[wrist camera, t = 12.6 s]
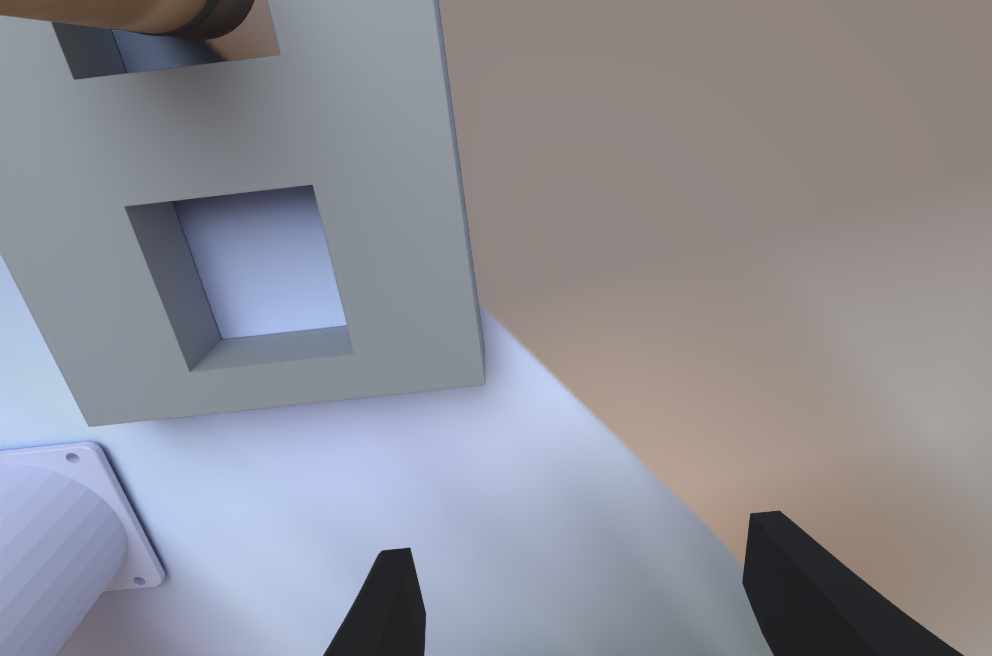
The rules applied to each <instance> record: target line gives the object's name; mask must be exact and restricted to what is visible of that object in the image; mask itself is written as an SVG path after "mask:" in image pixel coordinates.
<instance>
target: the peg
mask: <svg viewBox="0 0 992 656" xmlns="http://www.w3.org/2000/svg"><path fill="white" fill-rule="evenodd" d="M253 3H254V0H0V15H1V16H9V17H18V18H26V19H34V20H42V21H50V22H58V23H66V24H74V25H83V26H91V27H99V28H107V29H115V30H123V31H130V32H134V33H139V34H145V35H154V36H172V37H180V38H188V39H198V40H206V39H213V38H218V37H221V36H223V35H225V34H228V33H229V32H231V31H232V30H234V29H235V28H236V27H238V26H239V25H240V24H241V23H242V21H243V20H244V19H245V18H246V16H247V14H248V13H249V11H250V9H251V7H252V5H253Z"/></svg>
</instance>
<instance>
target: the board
mask: <svg viewBox="0 0 992 656" xmlns="http://www.w3.org/2000/svg"><path fill="white" fill-rule="evenodd" d="M267 1H268V5H269V10H270V14H271V18H272V22H273V26H274V30H275V34H276V38H277V42H278V46H279V51H280V55H275V56H266V57H258V58H250V59H242V60H233V61H225V62H217V63H209V64H200V65H192V66H184V67H176V68H168V69H159V70H151V71H143V72H135V73H126V70H125V68H124V65H123V62H122V59H121V56H120V54H119V51H118V48H117V45H116V43H115V40H114V37H113V34H112V31H111V29H107V28H99V27H91V26H83V25H74V24H66V23H58V22H50V21H42V20H34V19H26V18H18V17H9V16H1V15H0V254H1V256H2V258H3V260H4V262H5V264H6V265H7V267H8V269H9V271H10V273H11V275H12V277H13V279H14V281H15V283H16V285H17V287H18V289H19V291H20V293H21V295H22V297H23V299H24V301H25V303H26V305H27V307H28V309H29V311H30V313H31V315H32V316H33V318H34V320H35V322H36V324H37V326H38V328H39V330H40V332H41V334H42V336H43V338H44V340H45V342H46V344H47V346H48V348H49V350H50V352H51V354H52V356H53V358H54V360H55V362H56V364H57V365H58V367H59V369H60V371H61V373H62V375H63V377H64V379H65V381H66V383H67V385H68V387H69V389H70V391H71V393H72V395H73V397H74V399H75V401H76V403H77V405H78V407H79V409H80V411H81V413H82V415H83V416H84V418H85V420H86V422H87V424H88V426H89V427H93V426H102V425H112V424H121V423H130V422H140V421H149V420H158V419H168V418H177V417H187V416H196V415H205V414H215V413H224V412H233V411H243V410H252V409H261V408H271V407H280V406H289V405H299V404H308V403H318V402H327V401H336V400H346V399H355V398H364V397H374V396H383V395H392V394H402V393H411V392H421V391H430V390H439V389H449V388H458V387H467V386H477V385H485V350H484V342H483V335H482V327H481V319H480V312H479V304H478V297H477V290H476V282H475V274H474V267H473V259H472V251H471V244H470V236H469V229H468V221H467V213H466V206H465V198H464V191H463V183H462V176H461V168H460V161H459V153H458V145H457V138H456V130H455V122H454V115H453V107H452V100H451V92H450V85H449V77H448V69H447V62H446V54H445V47H444V39H443V32H442V24H441V17H440V9H439V1H438V0H267ZM305 185H313V189H314V193H315V197H316V201H317V205H318V209H319V213H320V217H321V221H322V225H323V229H324V233H325V237H326V241H327V246H328V250H329V254H330V258H331V262H332V266H333V270H334V274H335V278H336V282H337V286H338V290H339V294H340V298H341V302H342V306H343V311H344V315H345V319H346V323H347V326H340V327H331V328H322V329H312V330H303V331H294V332H285V333H276V334H267V335H258V336H249V337H240V338H231V339H221V336H220V334H219V331H218V328H217V325H216V322H215V320H214V317H213V314H212V311H211V308H210V306H209V303H208V300H207V297H206V294H205V292H204V289H203V286H202V283H201V280H200V278H199V275H198V272H197V269H196V266H195V264H194V261H193V258H192V255H191V252H190V250H189V247H188V244H187V241H186V238H185V236H184V233H183V230H182V227H181V224H180V222H179V219H178V216H177V213H176V210H175V208H174V205H173V202H172V201H176V200H184V199H193V198H202V197H210V196H219V195H228V194H236V193H245V192H253V191H262V190H271V189H279V188H288V187H297V186H305Z"/></svg>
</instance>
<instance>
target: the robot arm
mask: <svg viewBox="0 0 992 656" xmlns="http://www.w3.org/2000/svg"><path fill="white" fill-rule="evenodd" d="M74 454H76V455H77V456H76V455H74ZM164 578H165V572H164V570H163V568H162V566H161V564H160V562H159V560H158V558H157V557H156V555H155V553H154V551H153V549H152V547H151V545H150V543H149V541H148V539H147V537H146V535H145V533H144V531H143V529H142V527H141V525H140V523H139V521H138V519H137V517H136V515H135V513H134V511H133V509H132V507H131V505H130V503H129V501H128V499H127V498H126V496H125V494H124V492H123V490H122V488H121V486H120V484H119V482H118V480H117V478H116V476H115V474H114V472H113V470H112V468H111V466H110V464H109V462H108V460H107V458H106V456H105V454H104V452H103V450H102V449H101V448H100V446H98V445H97V444H95V443H92V442H78V443H68V444H59V445H49V446H40V447H31V448H21V449H12V450H2V451H0V656H57V654H58V653H59V652H60V650H61V649H62V647H63V646H64V645H65V643H66V642H67V641H68V639H69V638H70V637H71V635H72V634H73V632H74V631H75V630H76V628H77V627H78V626H79V624H80V623H81V621H82V620H83V619H84V617H85V616H86V615H87V613H88V612H89V610H90V609H91V608H92V606H93V605H94V604H95V602H96V601H97V600H98V598H99V597H100V595H101V594H102V593H103V592H108V591H118V590H128V589H138V588H148V587H156V586H159V585H160V584H161V583H162V581H163V580H164ZM742 583H743V586H744V588H745V591H746V594H747V596H748V599H749V601H750V604H751V607H752V609H753V612H754V614H755V616H756V619H757V621H758V624H759V626H760V629H761V631H762V633H763V635H764V637H765V639H766V641H767V643H768V645H769V647H770V649H771V651H772V653H773V655H774V656H964V655H962V654H961V653H959V652H958V651H957V650H955V649H954V648H952V647H951V646H949V645H948V644H946V643H945V642H944V641H942V640H941V639H939V638H938V637H937V636H935V635H934V634H933V633H931V632H930V631H928V630H927V629H926V628H924V627H923V626H922V625H920V624H919V623H918V622H916V621H915V620H913V619H912V618H911V617H909V616H908V615H907V614H905V613H904V612H903V611H901V610H900V609H899V608H898V607H896V606H895V605H894V604H892V603H891V602H890V601H889V600H887V599H886V598H885V597H883V596H882V595H881V594H880V593H878V592H877V591H876V590H875V589H873V588H872V587H871V586H870V585H868V584H867V583H866V582H865V581H863V580H862V579H861V578H859V577H858V576H857V575H856V574H855V573H853V572H852V571H851V570H850V569H849V568H847V567H846V566H845V565H844V564H842V563H841V562H840V561H839V560H838V559H836V558H835V557H834V556H833V555H832V554H831V553H829V552H828V551H827V550H826V549H825V548H823V547H822V546H821V545H820V544H819V543H817V542H816V541H815V540H814V539H813V538H812V537H810V536H809V535H808V534H807V533H806V532H804V531H803V530H802V529H801V528H800V527H799V526H797V525H796V524H795V523H794V522H793V521H791V520H790V519H789V518H788V517H787V516H785V515H784V514H783V513H782V512H781V511H771V512H761V513H751V514H750V521H749V529H748V539H747V547H746V555H745V564H744V573H743V581H742ZM425 626H426V612H425V608H424V603H423V599H422V595H421V591H420V586H419V582H418V578H417V574H416V570H415V565H414V561H413V557H412V553H411V549H410V548H403V549H393V550H383V551H381V552H380V553H379V554H378V556H377V558H376V560H375V562H374V564H373V566H372V568H371V570H370V572H369V574H368V576H367V578H366V580H365V582H364V584H363V586H362V588H361V590H360V592H359V594H358V596H357V597H356V599H355V601H354V603H353V605H352V607H351V609H350V610H349V612H348V614H347V616H346V617H345V619H344V621H343V623H342V624H341V626H340V628H339V630H338V631H337V633H336V635H335V636H334V638H333V640H332V642H331V643H330V645H329V647H328V648H327V650H326V652H325V653H324V655H323V656H424V650H425Z"/></svg>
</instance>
